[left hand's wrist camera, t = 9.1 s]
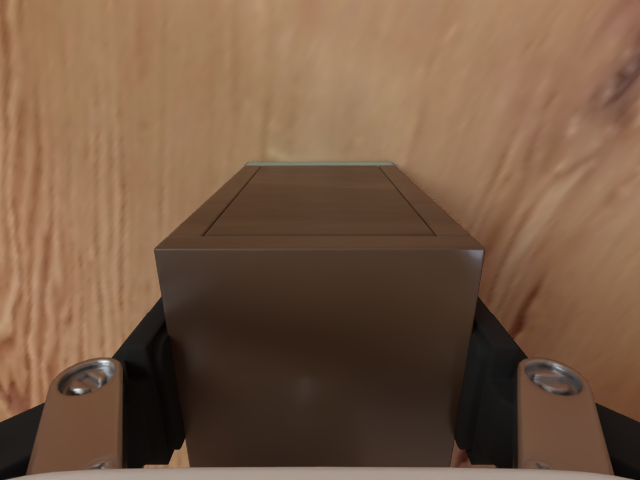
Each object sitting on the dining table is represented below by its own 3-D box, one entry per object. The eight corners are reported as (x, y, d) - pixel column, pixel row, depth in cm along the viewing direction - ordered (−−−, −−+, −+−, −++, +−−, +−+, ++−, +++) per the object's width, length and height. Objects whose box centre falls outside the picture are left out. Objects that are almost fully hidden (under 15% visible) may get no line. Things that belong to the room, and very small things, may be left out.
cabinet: (374, 441, 23) (414, 695, 14) (266, 441, 23) (226, 695, 14) (392, 161, 17) (487, 247, 8) (247, 162, 17) (152, 248, 8)
